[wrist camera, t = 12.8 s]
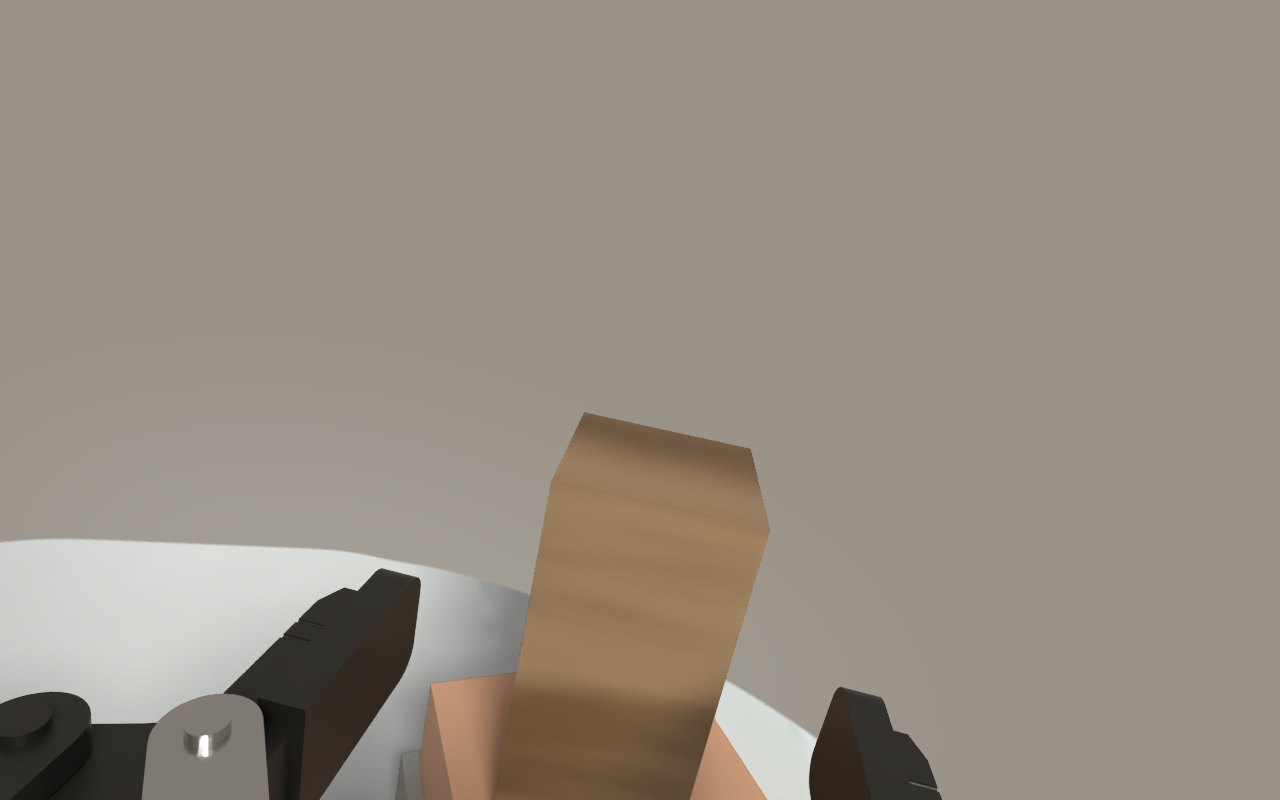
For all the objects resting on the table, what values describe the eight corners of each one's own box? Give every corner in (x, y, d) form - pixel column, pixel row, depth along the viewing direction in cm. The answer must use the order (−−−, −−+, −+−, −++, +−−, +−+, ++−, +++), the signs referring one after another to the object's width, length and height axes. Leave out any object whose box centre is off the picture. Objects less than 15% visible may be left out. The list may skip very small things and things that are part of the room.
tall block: (672, 856, 18) (770, 530, 15) (490, 816, 18) (550, 481, 15) (676, 718, 23) (750, 449, 20) (531, 686, 23) (584, 412, 20)
